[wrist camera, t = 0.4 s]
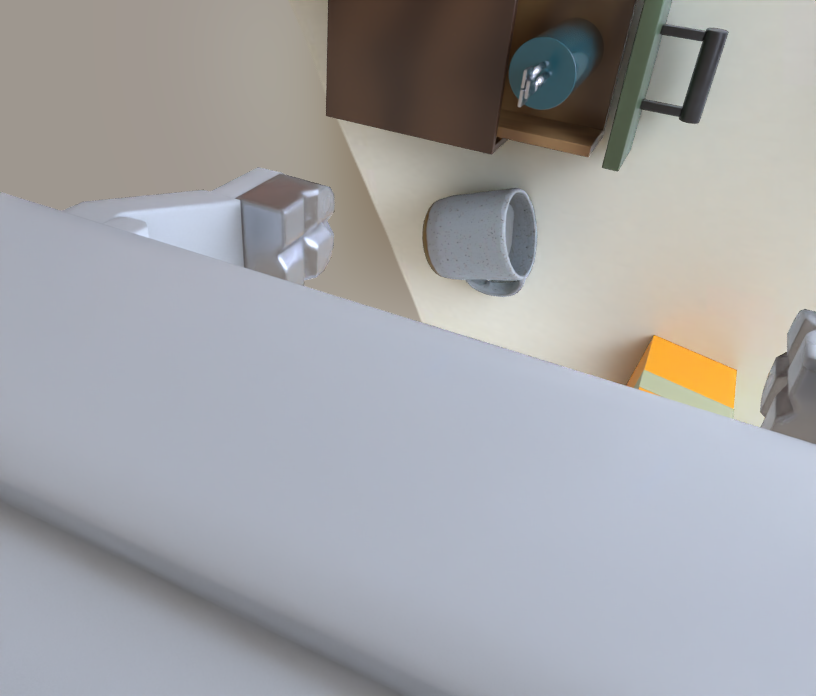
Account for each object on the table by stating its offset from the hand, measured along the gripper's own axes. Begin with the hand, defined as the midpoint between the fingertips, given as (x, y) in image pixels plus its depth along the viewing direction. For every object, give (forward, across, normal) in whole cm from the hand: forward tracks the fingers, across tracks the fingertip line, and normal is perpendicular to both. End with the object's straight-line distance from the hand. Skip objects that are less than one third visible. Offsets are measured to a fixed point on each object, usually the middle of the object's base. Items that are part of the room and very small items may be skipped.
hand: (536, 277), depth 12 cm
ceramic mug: (+46, +12, +21) cm, 53 cm away
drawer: (+45, +7, +5) cm, 46 cm away
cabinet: (+46, +19, +5) cm, 50 cm away
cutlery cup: (+44, +8, +5) cm, 45 cm away
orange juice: (+46, -6, +32) cm, 57 cm away
